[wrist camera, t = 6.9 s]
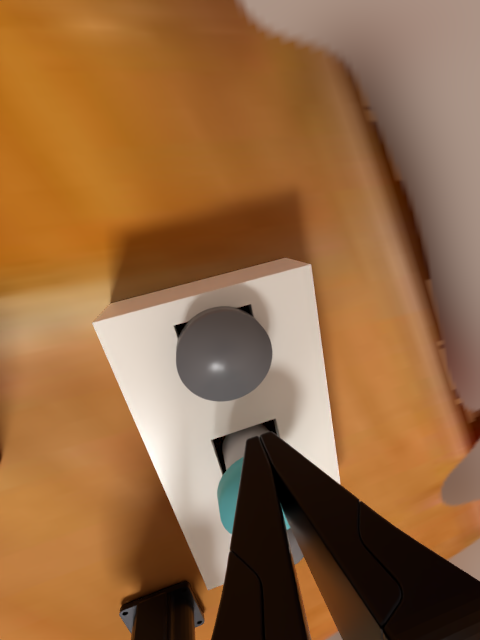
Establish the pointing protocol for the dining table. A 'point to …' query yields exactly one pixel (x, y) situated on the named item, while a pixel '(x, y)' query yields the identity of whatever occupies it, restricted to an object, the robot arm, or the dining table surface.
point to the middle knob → (234, 472)
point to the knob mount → (225, 416)
